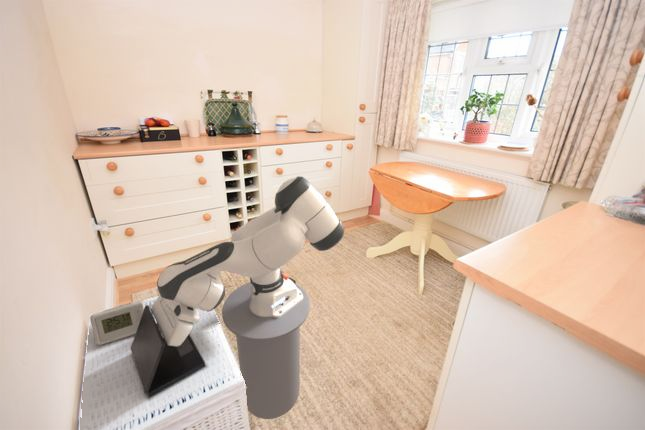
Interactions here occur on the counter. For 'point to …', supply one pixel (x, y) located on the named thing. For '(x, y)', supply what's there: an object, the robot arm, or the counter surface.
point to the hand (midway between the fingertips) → (153, 340)
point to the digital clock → (117, 322)
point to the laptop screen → (147, 348)
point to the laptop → (176, 365)
